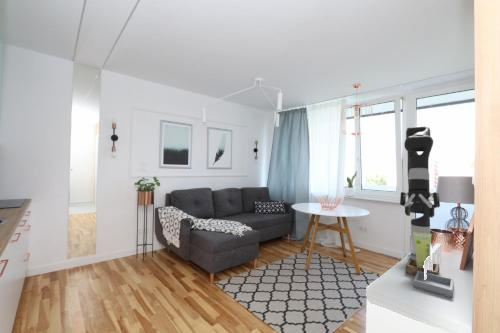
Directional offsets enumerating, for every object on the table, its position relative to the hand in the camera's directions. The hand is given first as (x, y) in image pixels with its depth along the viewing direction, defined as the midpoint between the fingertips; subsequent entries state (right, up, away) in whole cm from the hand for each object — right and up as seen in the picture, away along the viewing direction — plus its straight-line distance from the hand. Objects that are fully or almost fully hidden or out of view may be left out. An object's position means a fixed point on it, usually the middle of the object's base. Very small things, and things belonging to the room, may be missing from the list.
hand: (419, 216), depth 102 cm
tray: (+6, -30, -1) cm, 31 cm away
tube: (+11, -30, +13) cm, 35 cm away
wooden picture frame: (+11, -30, +13) cm, 34 cm away
